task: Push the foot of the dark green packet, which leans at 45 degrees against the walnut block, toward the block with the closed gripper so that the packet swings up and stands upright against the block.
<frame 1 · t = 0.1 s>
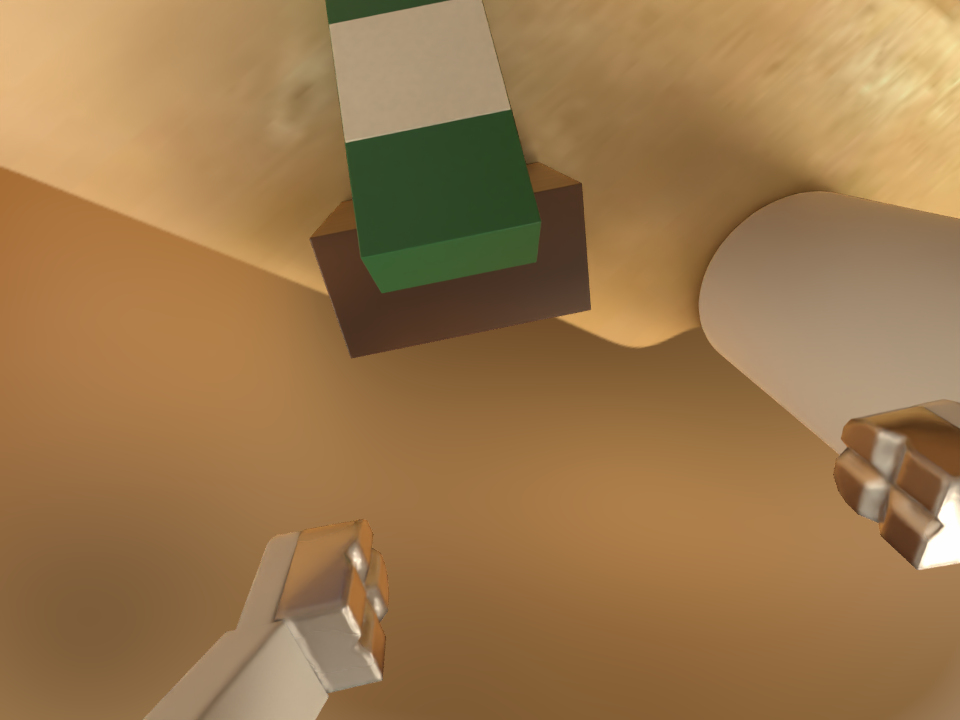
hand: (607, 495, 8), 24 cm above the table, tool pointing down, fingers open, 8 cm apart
block: (450, 231, 30), on the table
cylinder vase: (778, 281, 34), on the table
packet: (422, 96, 21), point 7 cm above the table, touching block
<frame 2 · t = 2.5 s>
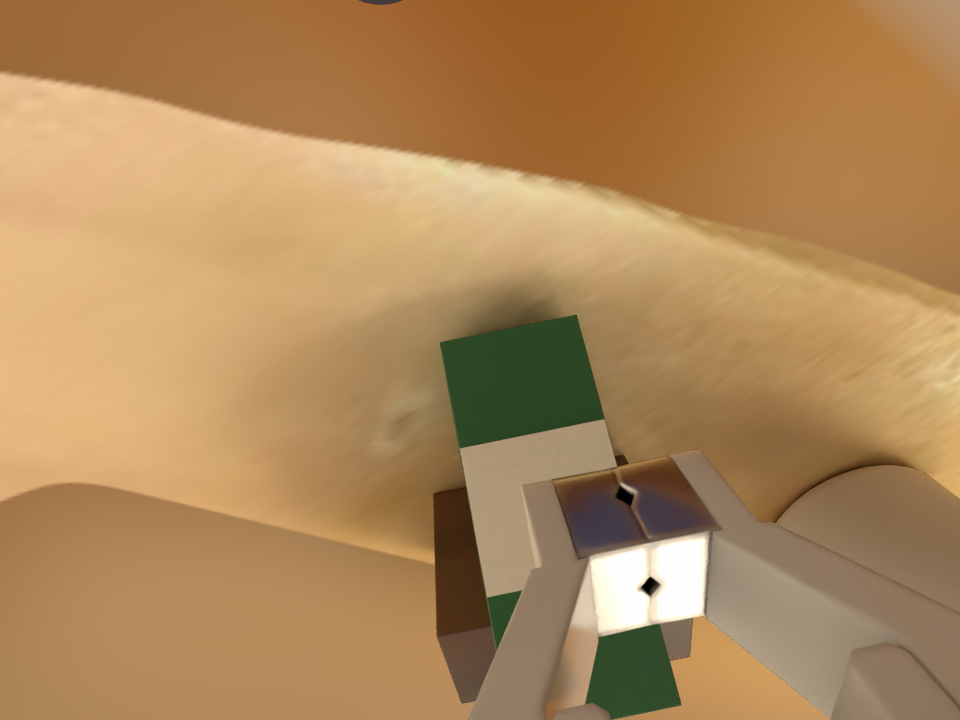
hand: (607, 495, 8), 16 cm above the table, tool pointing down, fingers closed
block: (534, 508, 31), on the table
cylinder vase: (841, 523, 35), on the table
packet: (545, 503, 22), point 7 cm above the table, touching block
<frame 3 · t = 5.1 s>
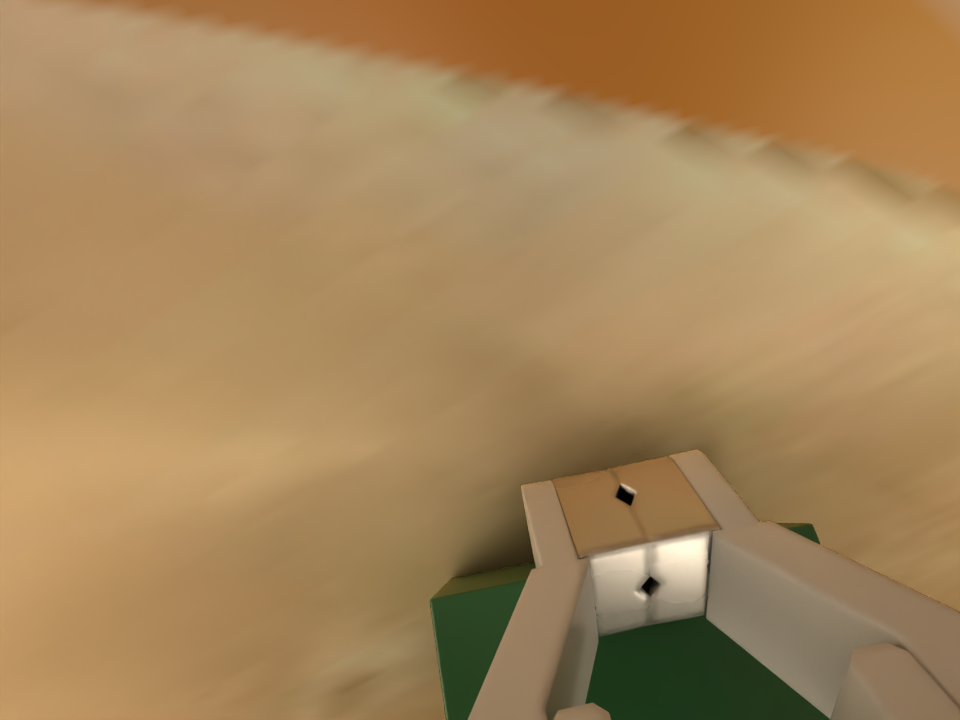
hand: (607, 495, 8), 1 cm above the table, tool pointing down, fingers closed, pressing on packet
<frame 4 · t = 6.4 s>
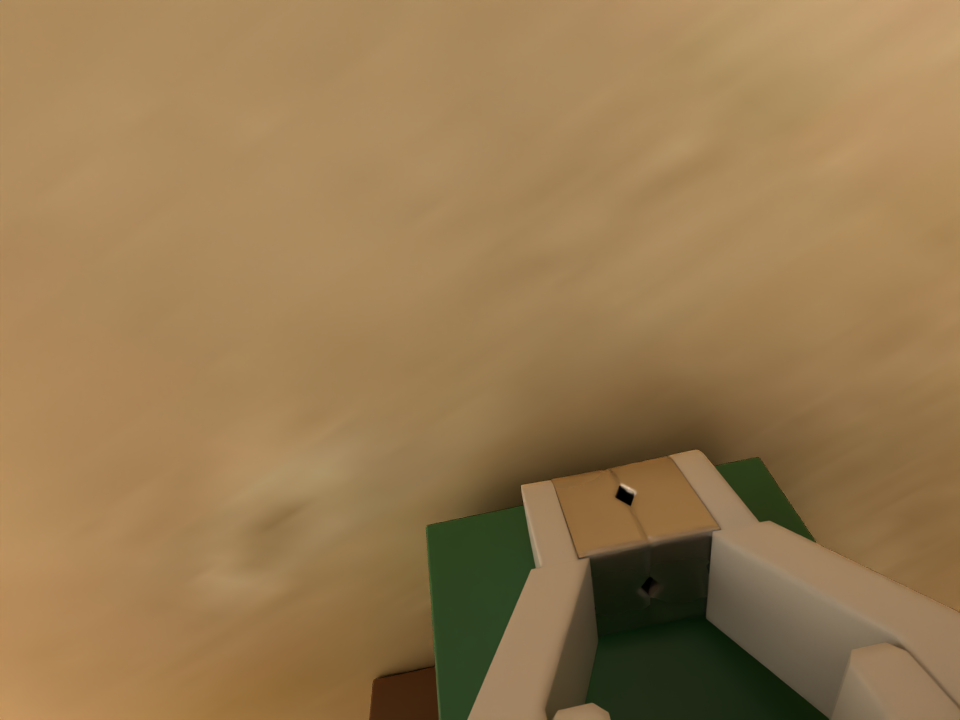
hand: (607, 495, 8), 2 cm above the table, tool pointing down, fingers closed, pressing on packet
block: (604, 695, 14), on the table
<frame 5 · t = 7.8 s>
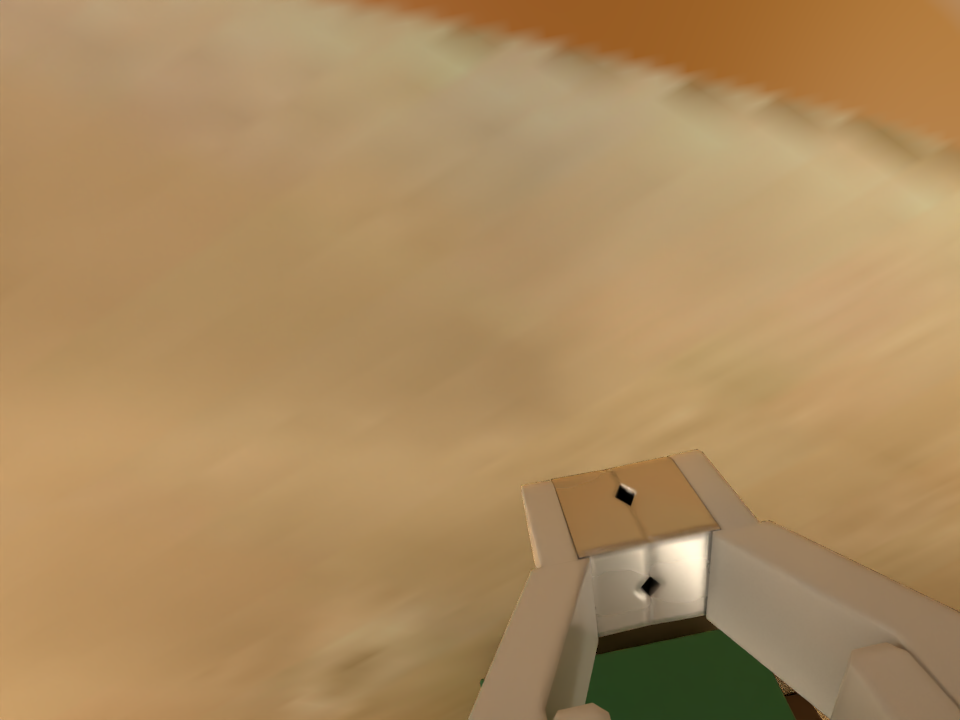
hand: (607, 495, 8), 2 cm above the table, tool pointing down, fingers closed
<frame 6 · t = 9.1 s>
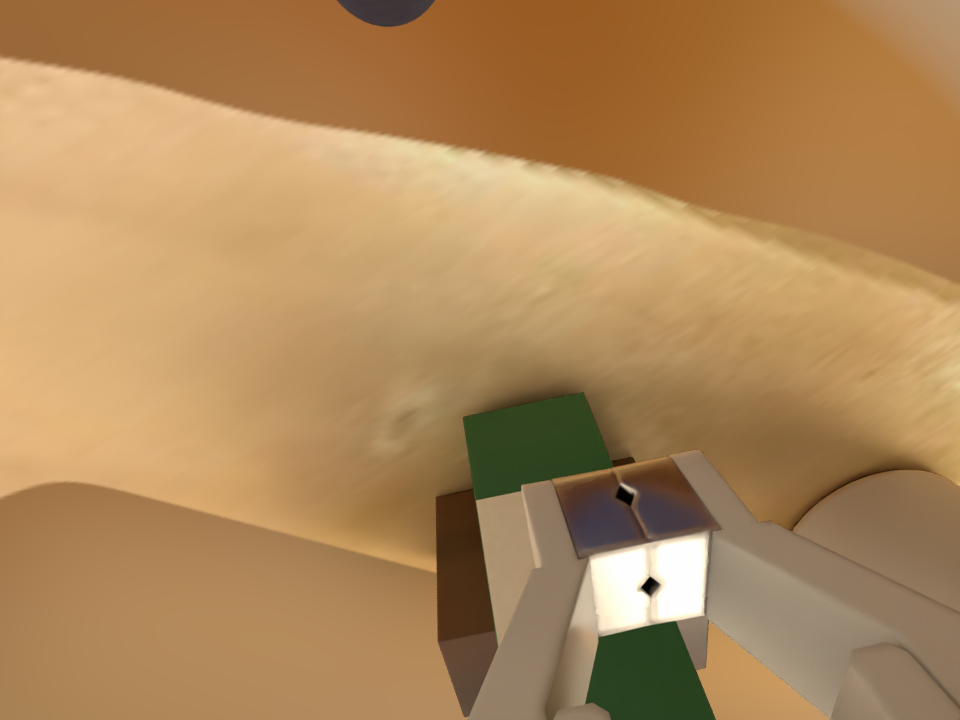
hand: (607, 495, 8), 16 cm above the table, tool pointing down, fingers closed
block: (540, 513, 30), on the table
cylinder vase: (860, 533, 34), on the table
packet: (564, 566, 21), point 8 cm above the table, tilted 27°, touching block
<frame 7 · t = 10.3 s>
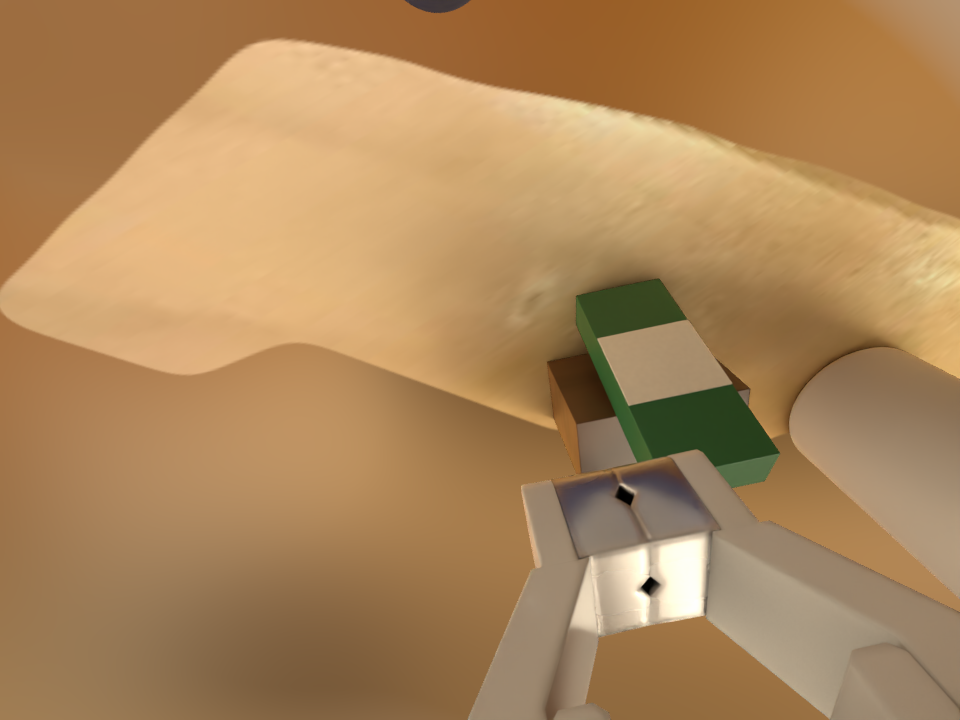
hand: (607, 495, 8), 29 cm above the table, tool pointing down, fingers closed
block: (618, 377, 42), on the table
cylinder vase: (847, 401, 46), on the table
packet: (657, 375, 32), point 8 cm above the table, tilted 27°, touching block
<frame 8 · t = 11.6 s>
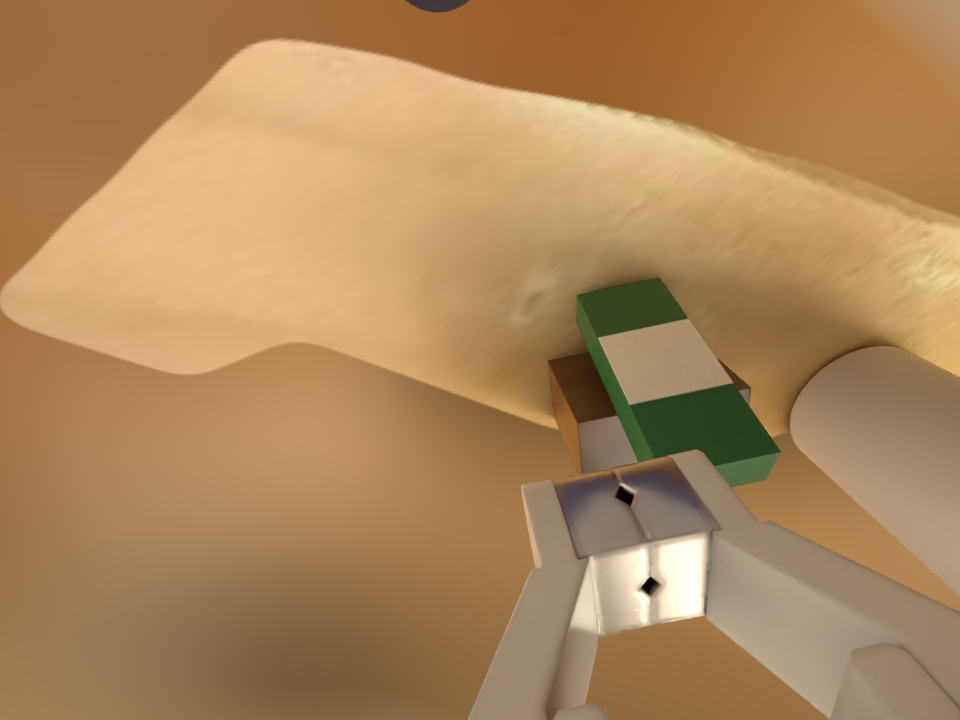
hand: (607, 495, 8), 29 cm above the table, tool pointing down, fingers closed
block: (619, 376, 42), on the table
cylinder vase: (848, 400, 46), on the table
packet: (658, 374, 33), point 8 cm above the table, tilted 27°, touching block
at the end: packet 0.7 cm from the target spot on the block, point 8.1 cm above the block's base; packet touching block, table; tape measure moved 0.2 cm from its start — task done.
